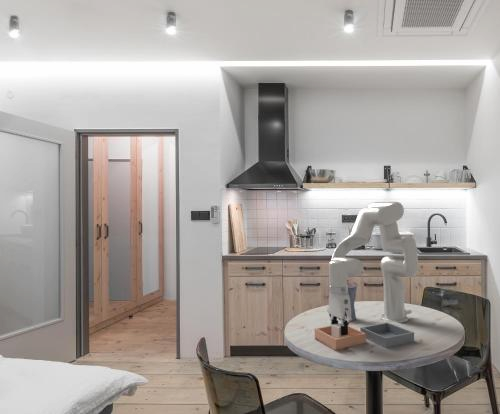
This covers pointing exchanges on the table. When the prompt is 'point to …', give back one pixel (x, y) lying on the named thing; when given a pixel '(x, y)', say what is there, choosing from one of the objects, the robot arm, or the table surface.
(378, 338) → the bin
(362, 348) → the table surface
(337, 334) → the stone block
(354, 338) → the bin
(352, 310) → the moka pot
